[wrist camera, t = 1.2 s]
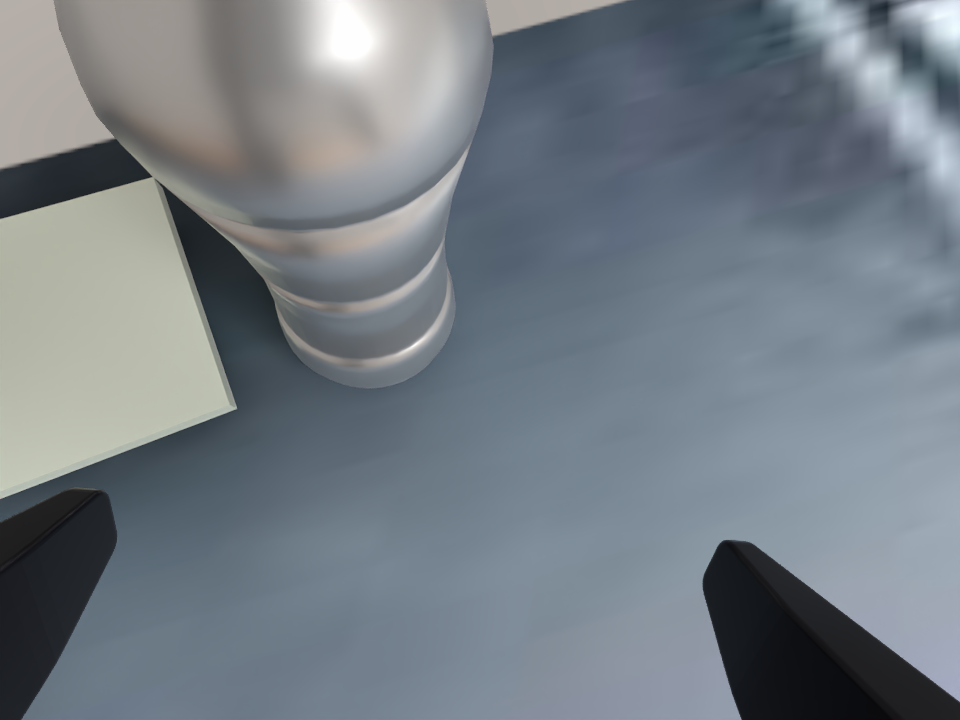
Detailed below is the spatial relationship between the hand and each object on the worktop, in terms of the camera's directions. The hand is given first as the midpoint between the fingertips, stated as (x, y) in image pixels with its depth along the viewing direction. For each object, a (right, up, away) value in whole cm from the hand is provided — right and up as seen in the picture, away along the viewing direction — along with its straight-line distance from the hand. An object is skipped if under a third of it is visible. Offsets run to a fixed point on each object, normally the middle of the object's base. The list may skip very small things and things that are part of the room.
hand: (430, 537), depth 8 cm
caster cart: (-15, +3, +13) cm, 20 cm away
